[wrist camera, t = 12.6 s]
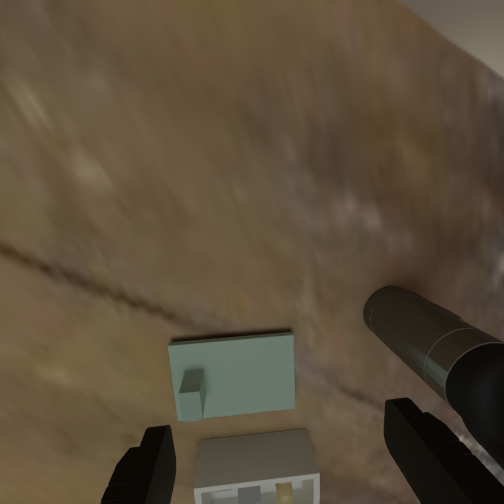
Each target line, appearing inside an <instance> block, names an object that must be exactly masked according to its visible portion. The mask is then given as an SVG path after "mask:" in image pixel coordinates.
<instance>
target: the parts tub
mask: <svg viewBox="0 0 504 504" xmlns="http://www.w3.org/2000/svg"><path fill="white" fill-rule="evenodd" d="M194 495H195V502H196V504H319V500H320V473H319V469H318V466H317V463H316V460H315V457H314V454H313V450H312V447H311V444H310V441H309V438H308V435H307V432H306V429H298V430H289V431H280V432H271V433H262V434H253V435H244V436H235V437H226V438H217V439H208V440H200V446H199V453H198V461H197V468H196V476H195V483H194Z"/></svg>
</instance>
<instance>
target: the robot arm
mask: <svg viewBox="0 0 504 504" xmlns="http://www.w3.org/2000/svg"><path fill="white" fill-rule="evenodd" d="M364 320H365V323H366V325H367V327H368V328H369V329H370V330H371V331H372V332H373V333H374V334H375V335H376V336H377V337H378V338H379V339H380V340H381V341H382V342H383V343H384V344H385V345H386V346H388V347H389V348H390V349H391V350H392V351H393V352H394V353H395V354H396V355H397V356H398V357H399V358H400V359H401V360H402V361H403V362H404V363H405V364H406V365H407V366H408V367H410V368H411V369H412V370H413V371H414V372H415V373H416V374H417V375H418V376H419V377H420V378H421V379H422V380H423V381H424V382H425V383H426V384H427V385H428V386H429V387H430V388H432V389H433V390H434V391H435V392H436V393H437V394H438V395H439V396H440V397H441V398H442V399H443V400H444V401H445V402H446V403H447V404H448V405H449V406H450V407H452V408H453V409H454V410H455V411H456V412H457V413H458V414H459V415H460V416H461V418H462V420H463V422H464V424H465V425H466V427H467V429H468V431H469V432H470V433H471V435H472V436H473V437H474V438H475V440H476V441H477V442H478V443H479V444H480V445H481V446H482V447H483V448H484V449H485V450H486V451H487V452H488V453H489V455H490V456H491V457H492V458H493V459H494V460H495V461H496V462H497V463H498V464H499V465H500V466H501V467H502V468H503V470H504V342H502V341H500V340H498V339H497V338H495V337H493V336H491V335H489V334H487V333H485V332H483V331H481V330H479V329H477V328H476V327H474V326H472V325H470V324H468V323H466V322H464V320H463V318H462V317H460V316H458V315H456V314H454V313H452V312H450V311H448V310H447V309H445V308H443V307H441V306H439V305H437V304H435V303H433V302H431V301H429V300H427V299H425V298H423V297H421V296H420V295H418V294H416V293H410V292H408V291H406V290H404V289H402V288H399V287H387V288H383V289H381V290H379V291H377V292H376V293H375V294H373V295H372V297H371V298H370V299H369V300H368V302H367V304H366V306H365V310H364ZM384 438H385V442H386V445H387V448H388V450H389V452H390V454H391V455H392V457H393V459H394V460H395V462H396V464H397V465H398V467H399V468H400V470H401V472H402V473H403V475H404V477H405V478H406V480H407V481H408V483H409V485H410V486H411V488H412V490H413V491H414V493H415V494H416V496H417V498H418V499H419V501H420V503H421V504H504V486H503V485H502V484H501V483H500V482H499V481H498V480H497V479H496V478H495V476H494V475H493V474H492V473H491V472H490V471H489V470H488V469H487V468H486V467H485V466H484V465H483V464H482V463H481V462H480V461H479V459H478V458H477V457H476V456H475V455H472V453H471V451H470V450H469V449H468V448H467V447H466V446H465V445H464V443H463V442H460V440H459V438H458V437H457V436H456V435H455V434H454V433H453V432H452V431H451V430H450V429H449V428H448V426H447V425H446V424H445V423H443V422H442V421H440V420H439V419H437V418H436V417H434V416H433V415H431V414H430V413H429V412H424V413H422V411H421V410H420V409H419V408H418V407H417V406H416V405H415V403H414V402H413V401H412V400H411V399H409V398H398V399H390V400H386V402H385V416H384ZM175 475H176V455H175V449H174V443H173V437H172V431H171V427H170V425H165V426H156V427H148V428H147V429H146V431H145V433H144V436H143V439H142V441H141V444H140V447H133V448H129V450H128V451H127V452H126V453H125V455H124V456H123V457H122V459H121V460H120V461H119V462H118V464H117V465H116V467H115V470H114V472H113V474H112V477H111V479H110V481H109V483H108V484H109V485H108V487H107V488H106V490H105V493H104V495H103V497H102V499H101V504H170V501H171V496H172V492H173V487H174V482H175Z"/></svg>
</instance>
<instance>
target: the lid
mask: <svg viewBox="0 0 504 504" xmlns="http://www.w3.org/2000/svg"><path fill="white" fill-rule="evenodd" d="M168 351H169V358H170V365H171V373H172V380H173V387H174V394H175V402H176V409H177V416H178V421H182V422H189V421H198V420H203V418H211V417H220V416H230V415H239V414H248V413H258V412H267V411H277V410H286V409H295V379H294V334H293V332H284V333H273V334H261V335H250V336H238V337H227V338H215V339H204V340H192V341H181V342H169V344H168Z"/></svg>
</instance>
